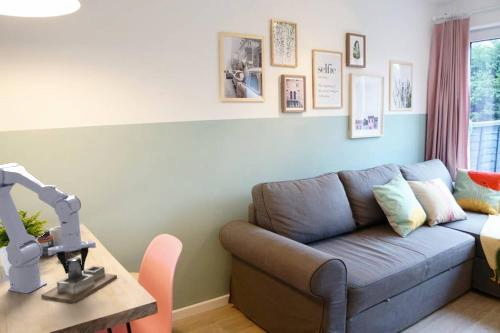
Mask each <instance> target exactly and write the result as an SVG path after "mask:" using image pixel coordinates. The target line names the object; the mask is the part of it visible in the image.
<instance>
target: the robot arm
mask: <svg viewBox="0 0 500 333" xmlns="http://www.w3.org/2000/svg"><path fill="white" fill-rule="evenodd" d="M16 184H18V185H21V186H23V187H24V188H26V189H28V190H30V191H31V192H34V193H36V194H37V195H38V196H37V197H38V199H39V200H40V201H41V202H43V203H45V204H47V205H48V206H50V207H51V208H53V209H54V213H55V214H56V215H57V218H58V221H59V222H60V225H59V226H61V234H62V243H63V245H60V246H56V247H52V248H48V255H52V254H54V255H55V254H56V258H57V260H58V261H59V262H60V264H61V266H62V267H63V270H64V272H65V275H68V270H67V261H66V252H69V251H75V250H81V252H80V258H81V265H82V272H83V271H84V270H85V266H86V265H85V263H86V260H87V257H88V254H89V249H95V248H97V246H96V241H95V240H93V241H92V240H91V241H82V237H81V226H80V216H79V211H80V209H81V208H82V203H81V202H82V201H81V200H80V198H78V197H77V196H76V195H69V194H67V193H66V192H65V193H64V191H61V190H59V189H58V188H57V186H56V185H54V184H52V185H51V184H47V185H46V184H44V183H42V182H41V181H39V180H38V179H37V178H36V177H34V176H33V175H31V174H30V173H28V172H27V171H26V170H25V167H24V166H22V165H20V164H18V163H16V162H11V163H8V164H7V163H6V164H2V165H1V164H0V222H1V223H2V225H3V228H4V231H5V232H6V235H7V237H8V240H9V242H8V243H7V245H6V248H5V251H6V253H7V261H8V263H9V264H10V266H9V268H8V281H9V286H10V287H8V288H7V289H8V291H12V292H18V293H22V294H30V293H32V292H33V291H35V290H37V289H39V288H41V287H43V286H45V285H47V281H42V279H41V273H40V272H41V271H40V265H39V260H40V255H41V254H42V247H41V245H40V244H39V243H38V241H37V239H36V236H34V235H32V234H30V233H28V232H27V230H26V227H25V224H24V222H23V221H22V218H21V216H20V213H19V211H18V208H17V207H16V205H15V202H14V199H13V198H12V195H11V191H12V189H13V187H14V186H15V185H16Z"/></svg>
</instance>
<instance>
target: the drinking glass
mask: <svg viewBox="0 0 500 333" xmlns="http://www.w3.org/2000/svg"><path fill="white" fill-rule="evenodd" d="M49 231H50V234H51V235H52V236H53V243H54V247H56V246H60V245H63V243H62V234H61V225H59V226H54V227H51V228H50V229H49Z"/></svg>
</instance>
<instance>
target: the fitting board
mask: <svg viewBox="0 0 500 333" xmlns="http://www.w3.org/2000/svg"><path fill="white" fill-rule="evenodd" d="M105 271H106V270H105V266H100V265H91V266H90V267H88V268H86V269H84V270H83V271H82V277H81V278H78V279H73V280H71V279H68V276H66V277H64V278H62V279H60V280H58V281H56V287H53V288H52V289H49V290H48V291H46V292H44V293H42V294H41V298H42V299H45V300H46V299H47V300H51V301H56V302H63V303H68V304H77V303H78V302H80V301H81V300H83V299H85V298H86V297H88V296H89V295H91V294H93V293H94V292H96V291H97V290H99V289H101V288H102V287H104V286H106V285H107V284H109V283H111V282H112V281H115V279H117V278H118V277H117V276H118V275H117V274H111V273H106V272H105Z"/></svg>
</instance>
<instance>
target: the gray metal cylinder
mask: <svg viewBox="0 0 500 333" xmlns="http://www.w3.org/2000/svg"><path fill="white" fill-rule="evenodd" d="M66 262H67V270H68V273H67V277H68V279H71V280H73V279H78V278H81V277H82V273H83V271H82V261H81V257H70V259H68V260H67V261H66Z"/></svg>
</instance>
